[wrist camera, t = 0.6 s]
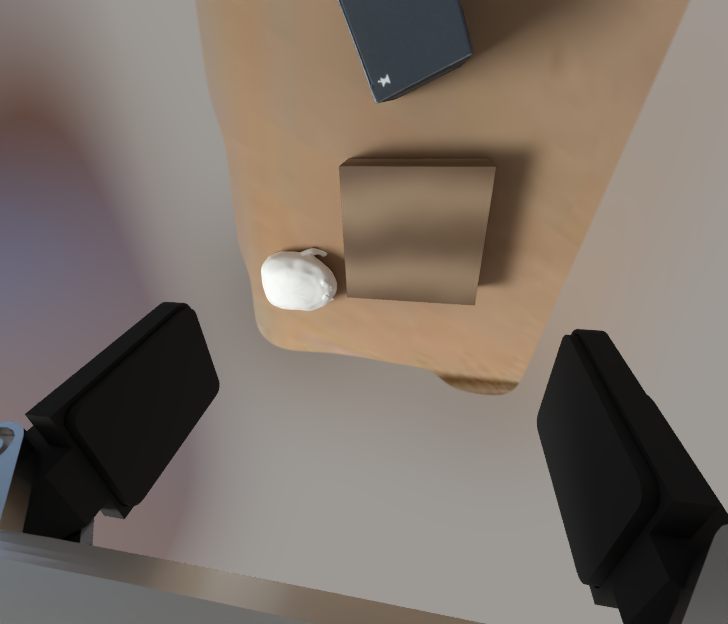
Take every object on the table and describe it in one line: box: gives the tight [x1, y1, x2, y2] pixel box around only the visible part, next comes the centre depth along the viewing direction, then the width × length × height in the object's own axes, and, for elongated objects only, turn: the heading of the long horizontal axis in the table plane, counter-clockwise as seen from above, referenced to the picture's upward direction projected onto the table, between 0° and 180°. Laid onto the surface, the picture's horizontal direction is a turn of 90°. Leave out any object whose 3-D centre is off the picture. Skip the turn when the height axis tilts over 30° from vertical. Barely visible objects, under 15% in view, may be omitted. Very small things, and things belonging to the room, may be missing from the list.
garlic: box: [261, 248, 337, 311], centre depth 38 cm, size 8×7×4 cm
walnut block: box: [339, 158, 496, 305], centre depth 33 cm, size 12×12×4 cm
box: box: [338, 0, 473, 103], centre depth 22 cm, size 8×6×11 cm
